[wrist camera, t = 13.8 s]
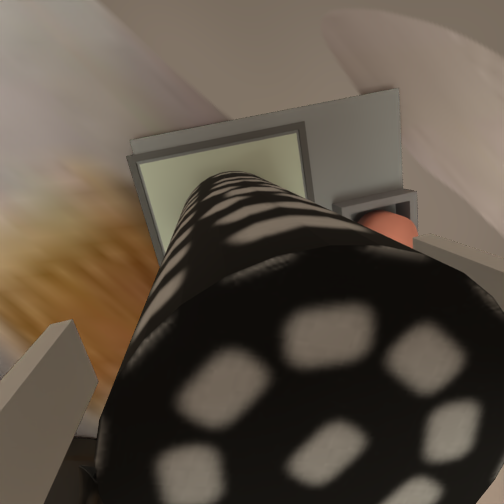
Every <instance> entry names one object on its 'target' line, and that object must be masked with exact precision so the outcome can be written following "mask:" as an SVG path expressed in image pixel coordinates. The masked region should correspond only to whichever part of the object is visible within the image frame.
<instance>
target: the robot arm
mask: <svg viewBox="0 0 504 504" xmlns="http://www.w3.org/2000/svg"><path fill="white" fill-rule="evenodd" d="M413 249H415V250H417V251H419V252H421V253H423V254H425V255H427V256H430V257H432V258H434V259H436V260H438V261H440V262H442V263H444V264H447V265H449V266H451V267H453V268H455V269H457V270H459V271H462V272H464V273H465V274H466V275H467V276H469V277H470V278H471V279H472V280H473V281H475V282H476V283H477V284H478V285H479V286H481V287H482V288H483V289H484V290H486V291H487V292H488V293H489V294H490V295H492V296H493V297H494V299H495V300H496V302H497V303H498V305H499V306H500V307H501V309H502V310H503V312H504V258H503V257H500V256H497V255H494V254H491V253H488V252H485V251H482V250H479V249H476V248H473V247H470V246H467V245H464V244H461V243H458V242H455V241H452V240H448V239H446V238H443V237H440V236H437V235H434V234H431V233H430V234H426V235H422V236H417V237H413ZM97 384H98V379H97V377H96V374H95V372H94V370H93V367H92V365H91V362H90V360H89V357H88V355H87V353H86V350H85V348H84V345H83V343H82V341H81V338H80V336H79V333H78V331H77V329H76V326H75V324H74V321H73V319H71V320H67V321H63V322H59V323H55V324H50V326H49V327H48V328H47V329H46V330H45V331H44V332H43V333H42V335H41V336H40V337H39V338H38V339H37V340H36V341H35V342H34V344H33V345H32V346H31V347H30V348H29V349H28V350H27V351H26V353H25V354H24V355H23V356H22V357H21V358H20V359H19V360H18V362H17V363H16V364H15V365H14V366H13V367H12V368H11V369H10V371H9V372H8V373H7V374H6V375H5V376H4V377H3V378H2V380H1V381H0V504H103V502H102V500H101V497H100V495H99V490H98V483H97V476H96V468H95V461H94V456H95V449H96V441H97V440H94V439H83V438H73V437H74V435H75V433H76V430H77V428H78V426H79V424H80V422H81V419H82V417H83V415H84V413H85V410H86V408H87V406H88V404H89V402H90V399H91V397H92V395H93V393H94V391H95V388H96V386H97Z"/></svg>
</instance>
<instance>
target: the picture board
mask: <svg viewBox="0 0 504 504" xmlns="http://www.w3.org/2000/svg"><path fill="white" fill-rule="evenodd" d="M130 144H131V147H132V150H133V154H134V155H130V156H126V158H127V161H128V164H129V168H130V171H131V174H132V178H133V181H134V184H135V187H136V191H137V194H138V197H139V201H140V204H141V207H142V210H143V214H144V217H145V220H146V224H147V227H148V230H149V233H150V237H151V240H152V243H153V247H154V250H155V253H156V256H157V260H158V263H159V266H161V263H162V261H163V258H164V256H165V253H166V251H167V248H168V246H169V243H170V241H171V238H172V236H173V233H174V230H175V228H176V225H177V223H178V220H179V218H180V215H181V213H182V210H183V208H184V205H185V203H186V200H187V199H188V197H189V196H190V194H191V193H192V191H193V190H194V189H195V188H196V187H197V186H198V185H199V184H200V183H201V182H203V181H204V180H206V179H207V178H209V177H211V176H213V175H216V174H219V173H222V172H228V171H243V172H247V173H251V174H254V175H256V176H258V177H260V178H262V179H265V180H267V181H269V182H271V183H273V184H275V185H277V186H280V187H282V188H284V189H286V190H288V191H290V192H292V193H295V194H297V195H299V196H301V197H303V198H305V199H307V200H310V201H312V202H314V203H316V204H318V205H320V206H322V207H325V208H327V209H329V210H331V211H333V212H335V213H337V214H340V215H342V216H344V217H346V218H348V219H350V220H352V221H355V222H358V221H359V220H360V218H362V217H363V216H364V215H365V214H367V213H368V212H371V211H374V210H385V211H389V212H392V213H395V214H398V215H401V216H404V217H406V218H408V219H410V220H411V221H412V222H413V223H414V225H415V226H416V229H417V232H418V210H417V209H418V208H417V191H414V190H408V189H403V179H402V153H401V152H402V151H401V124H400V97H399V88H395V89H390V90H385V91H380V92H374V93H369V94H364V95H359V96H354V97H349V98H344V99H339V100H334V101H328V102H323V103H318V104H313V105H308V106H303V107H297V108H292V109H287V110H282V111H277V112H272V113H267V114H261V115H256V116H251V117H246V118H241V119H236V120H231V121H225V122H220V123H215V124H210V125H205V126H200V127H195V128H189V129H184V130H179V131H174V132H169V133H164V134H159V135H153V136H148V137H143V138H138V139H133V140H130Z"/></svg>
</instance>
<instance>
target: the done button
mask: <svg viewBox="0 0 504 504" xmlns="http://www.w3.org/2000/svg"><path fill="white" fill-rule="evenodd" d="M357 223H359V224H361V225H363V226H365V227H367V228H370V229H372V230H374V231H376V232H378V233H380V234H382V235H385V236H387V237H389V238H391V239H393V240H395V241H397V242H400V243H402V244H404V245H406V246H408V247H410V248H412V249H413V237H417V236H418V232H417V229H416V226H415V225H414V223H413V222H412V221H411V220H410V219H408V218H406V217H404V216H401V215H398V214H395V213H392V212H389V211H385V210H374V211H371V212H368V213H367V214H365V215H364V216H363V217H362V218H360V220H359V221H358V222H357Z"/></svg>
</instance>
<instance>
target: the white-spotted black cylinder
mask: <svg viewBox="0 0 504 504" xmlns="http://www.w3.org/2000/svg"><path fill="white" fill-rule="evenodd" d="M94 461H95V468H96V476H97V483H98V490H99V495H100V497H101V500H102V502H103V504H476V503H477V501H478V500H479V499H480V498H481V496H482V495H483V494H484V492H485V491H486V490H487V489H488V487H489V486H490V485H491V484H492V482H493V481H494V480H495V478H496V476H497V475H498V473H499V471H500V469H501V468H502V466H503V464H504V312H503V310H502V309H501V307H500V306H499V305H498V303H497V302H496V300H495V299H494V297H493V296H492V295H490V294H489V293H488V292H487V291H486V290H484V289H483V288H482V287H481V286H479V285H478V284H477V283H476V282H475V281H473V280H472V279H471V278H470V277H469V276H467V275H466V274H465V273H464V272H462V271H459V270H457V269H455V268H453V267H451V266H449V265H447V264H444V263H442V262H440V261H438V260H436V259H434V258H432V257H430V256H427V255H425V254H423V253H421V252H419V251H417V250H415V249H412V248H410V247H408V246H406V245H404V244H402V243H400V242H397V241H395V240H393V239H391V238H389V237H387V236H385V235H382V234H380V233H378V232H376V231H374V230H372V229H370V228H367V227H365V226H363V225H361V224H359V223H357V222H355V221H352V220H350V219H348V218H346V217H344V216H342V215H340V214H337V213H335V212H333V211H331V210H329V209H327V208H325V207H322V206H320V205H318V204H316V203H314V202H312V201H310V200H307V199H305V198H303V197H301V196H299V195H297V194H295V193H292V192H290V191H288V190H286V189H284V188H282V187H280V186H277V185H275V184H273V183H271V182H269V181H267V180H265V179H262V178H260V177H258V176H256V175H254V174H251V173H247V172H243V171H228V172H222V173H219V174H216V175H213V176H211V177H209V178H207V179H206V180H204V181H203V182H201V183H200V184H199V185H198V186H197V187H196V188H195V189H194V190H193V191H192V193H191V194H190V196H189V197H188V199H187V200H186V203H185V205H184V208H183V210H182V213H181V215H180V218H179V220H178V223H177V225H176V228H175V230H174V233H173V236H172V238H171V241H170V243H169V246H168V248H167V251H166V253H165V256H164V258H163V261H162V263H161V266H160V268H159V271H158V273H157V276H156V278H155V281H154V283H153V286H152V288H151V291H150V293H149V296H148V299H147V301H146V304H145V306H144V309H143V311H142V314H141V316H140V319H139V321H138V324H137V326H136V329H135V331H134V334H133V336H132V339H131V341H130V344H129V346H128V349H127V351H126V354H125V357H124V359H123V362H122V364H121V367H120V369H119V372H118V374H117V377H116V379H115V382H114V384H113V387H112V389H111V392H110V394H109V397H108V399H107V402H106V404H105V407H104V409H103V412H102V414H101V417H100V420H99V426H98V434H97V441H96V449H95V456H94Z"/></svg>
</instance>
